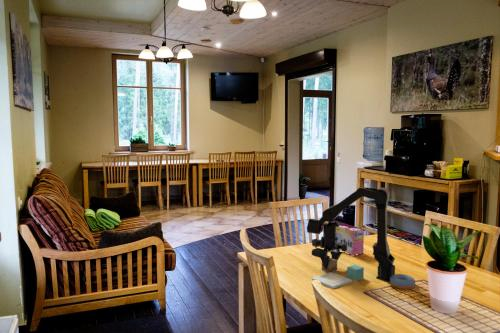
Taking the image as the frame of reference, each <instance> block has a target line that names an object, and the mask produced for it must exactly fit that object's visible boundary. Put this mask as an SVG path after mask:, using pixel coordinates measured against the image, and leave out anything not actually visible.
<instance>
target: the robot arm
mask: <svg viewBox="0 0 500 333" xmlns="http://www.w3.org/2000/svg"><path fill="white" fill-rule="evenodd" d="M390 195H391V193H390V191H389V190H388V188H386V187H378V188H376V187H375V188H374V187H365V186H360V187H358V188H357V189H356V190H355V191H354V192H352V193H351V194H350V195H348V196H347V197H345V198H344V199H342V200H341V201H340V202H339V203H336V204H334V205H332V206H329V207H328V208H327V209H324V210H323V211H322V213H321V215H322V216H321V217H320V219H316V218H308V223H307V226H306V232H307V233H308V234H317V235H321V233H323V236H321V237H320V239H317V238H314V239H311V245H312V247H314V248H312V250H311V256H312V257H317V258H320V260H321V264H322V263H323V266H324V269H327V267H328V262H329V258H333V259H336V260H337V262H338V261H339V259H340V257H341V256H342V254H343V252H340V249H341V250H342V251H347V246H346V244H342V243H336V240H338V237H336V227H339V226H340V225H341V224H340V223H341V222H340V223H338V222H339V221H338V220H335V219H336V218H337V217H339V215H340V214H341V213H342V212H343V211H344V210H345V209H347V208H348V207H349V206H351V205H352V204H353V203H355V202H356V201H357V200H359V199H360V198H361V199H362V197H363V198H367V199H370V200H374V205H375V208H376V231H377V232H376V240H377V241H376V242H374V243H373V245H372V252H373V253H372V256H373V257H374V259H375V261H377V263H378V266H377V276H376V277H375V278H376V279H379V280H382V281H384V282H388V283H389V282H390V278H391V276H393V275H395V274H396V265H394V262H395V261H396V258H395V256H393V255H392V253H391V249H390V246H389V243H388V235H387V234H388V231H387V230H388V224H387V223H388V222H387V220H388V219H387V218H388V217H387V216H388V215H387V213H388V212H387V208H388V205H389V199H390V197H391V196H390ZM333 221H335V222H333ZM325 222H326V223H325ZM328 254H330V255H331V256H330V255H328Z"/></svg>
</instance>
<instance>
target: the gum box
mask: <svg viewBox="0 0 500 333" xmlns="http://www.w3.org/2000/svg"><path fill="white" fill-rule="evenodd" d="M335 221H336V220H332V222H335ZM324 223H327V221H326V222H324ZM338 223H340V224H341V225H340V226H339V227H336V237H338V240H336V243H342V244H346V246H347V251H344V252H347V253H349V254H351V255H356V254H360V253H363V254H364V244H365V243H364V240H365V239H364V238H365V237H364V234H365V229H364V228H362V227H358V226H354V225H350V224H347V223H344V222H340V221H338ZM340 250H341V249H340ZM351 255H350V256H351ZM356 256H357V255H356Z"/></svg>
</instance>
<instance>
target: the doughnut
mask: <svg viewBox="0 0 500 333" xmlns="http://www.w3.org/2000/svg"><path fill="white" fill-rule="evenodd" d="M390 285H391V286H392V287H394V288H395V289H399V290H412V289H414V288H415V286H416V280H415V278H414V277H412V276H411V275H408V274H405V273H404V274H403V273H395V275H393V276H391V278H390Z"/></svg>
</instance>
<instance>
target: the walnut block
mask: <svg viewBox="0 0 500 333" xmlns="http://www.w3.org/2000/svg"><path fill="white" fill-rule="evenodd" d="M321 270H322V271H324V272H326V273H329V272H331V273H334V272H336V270H337V271H338V261H337V260H336V259H333V258H332V257H330V258H329V262H328V267H327V269H324V266H323V263H322V262H321ZM333 271H334V272H333Z"/></svg>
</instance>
